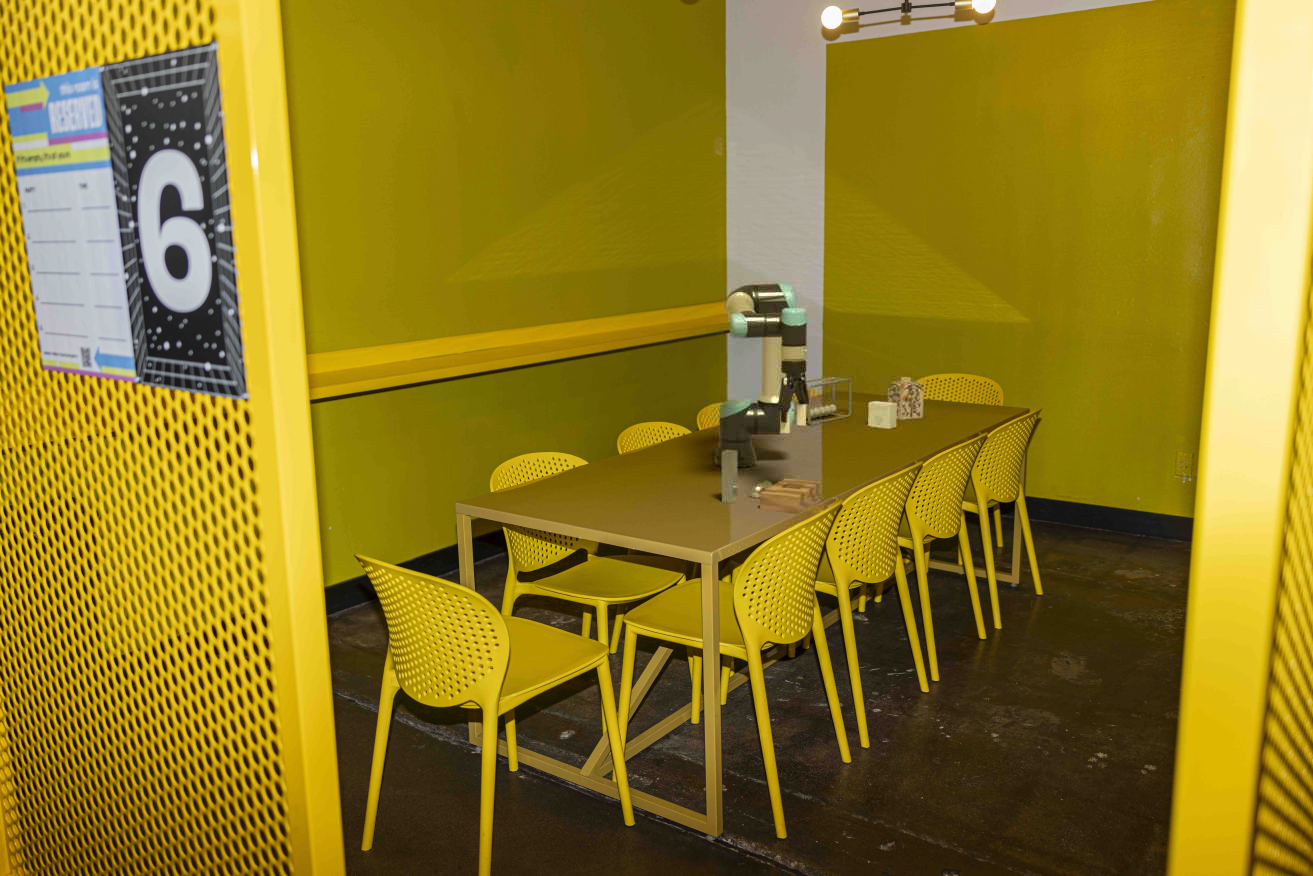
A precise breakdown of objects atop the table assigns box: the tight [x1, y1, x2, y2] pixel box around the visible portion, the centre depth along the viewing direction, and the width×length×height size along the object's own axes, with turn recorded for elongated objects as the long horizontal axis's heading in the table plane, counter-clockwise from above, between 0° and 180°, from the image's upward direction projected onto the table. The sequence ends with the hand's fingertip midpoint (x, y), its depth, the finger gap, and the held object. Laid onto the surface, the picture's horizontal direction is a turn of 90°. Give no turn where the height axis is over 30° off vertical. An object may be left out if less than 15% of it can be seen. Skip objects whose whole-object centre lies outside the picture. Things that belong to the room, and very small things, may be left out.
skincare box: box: [867, 400, 898, 430], centre depth 418 cm, size 10×6×10 cm, turn 49°
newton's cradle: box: [791, 376, 853, 426], centre depth 436 cm, size 30×10×18 cm, turn 132°
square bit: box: [721, 450, 738, 504], centre depth 304 cm, size 4×4×16 cm
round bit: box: [749, 480, 773, 499], centre depth 313 cm, size 10×4×4 cm, turn 151°
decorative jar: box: [887, 376, 925, 421], centre depth 437 cm, size 12×12×18 cm
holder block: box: [759, 477, 822, 514], centre depth 302 cm, size 20×12×5 cm, turn 151°
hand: (793, 429), depth 300 cm, fingers open, 13 cm apart
